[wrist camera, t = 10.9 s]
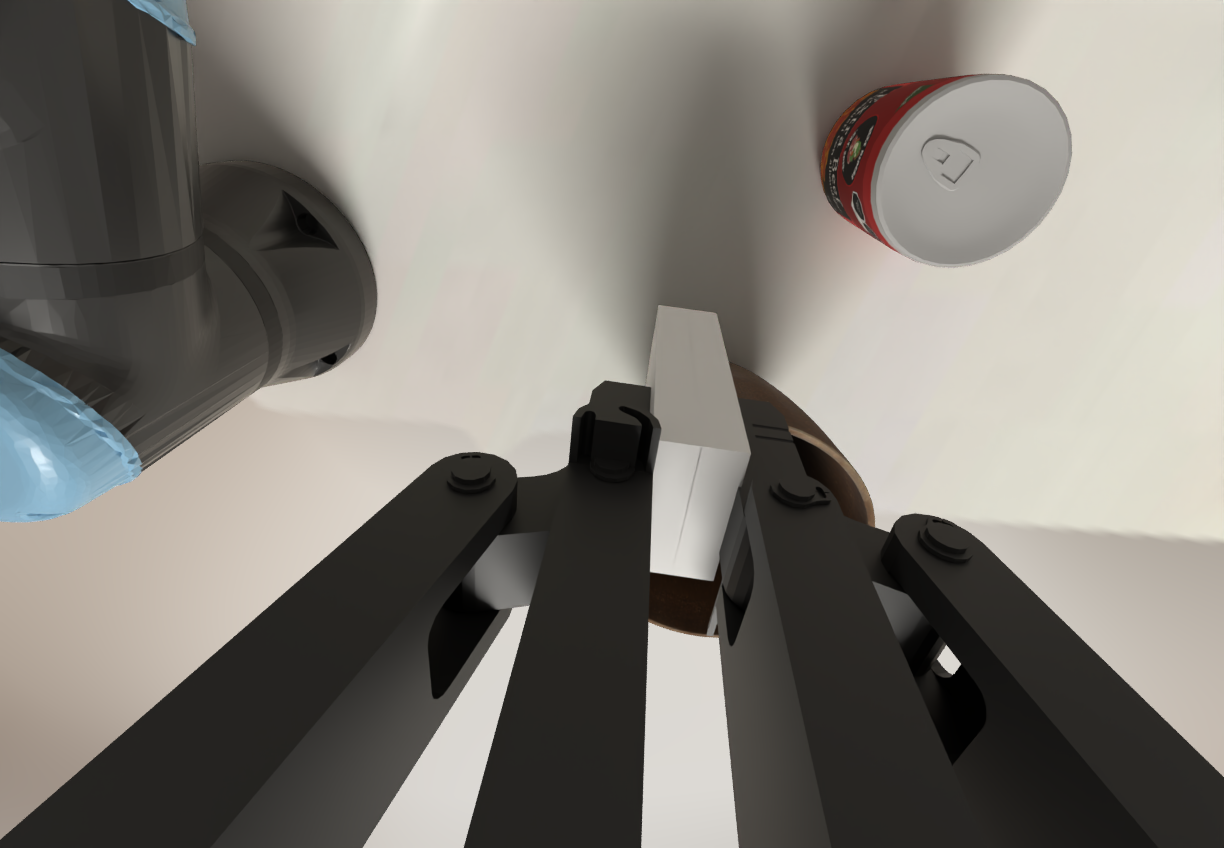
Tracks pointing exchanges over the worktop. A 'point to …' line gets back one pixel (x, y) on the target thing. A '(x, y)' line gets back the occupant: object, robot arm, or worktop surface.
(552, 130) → the worktop surface
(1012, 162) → the canned food
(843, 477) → the plant pot
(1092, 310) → the worktop surface
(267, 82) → the worktop surface
